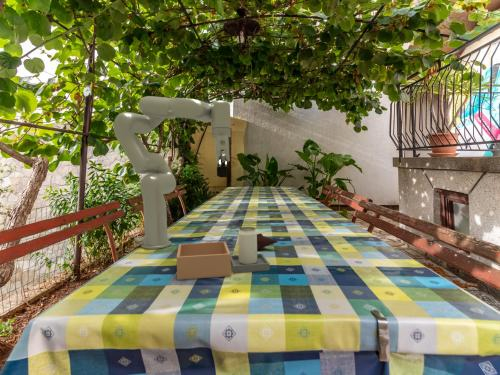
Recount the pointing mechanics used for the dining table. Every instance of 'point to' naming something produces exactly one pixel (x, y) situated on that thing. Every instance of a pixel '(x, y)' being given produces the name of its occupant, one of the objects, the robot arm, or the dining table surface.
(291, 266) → the dining table surface
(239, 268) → the tray
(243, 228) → the can
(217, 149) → the robot arm
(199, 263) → the brown square frame
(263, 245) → the icecream
